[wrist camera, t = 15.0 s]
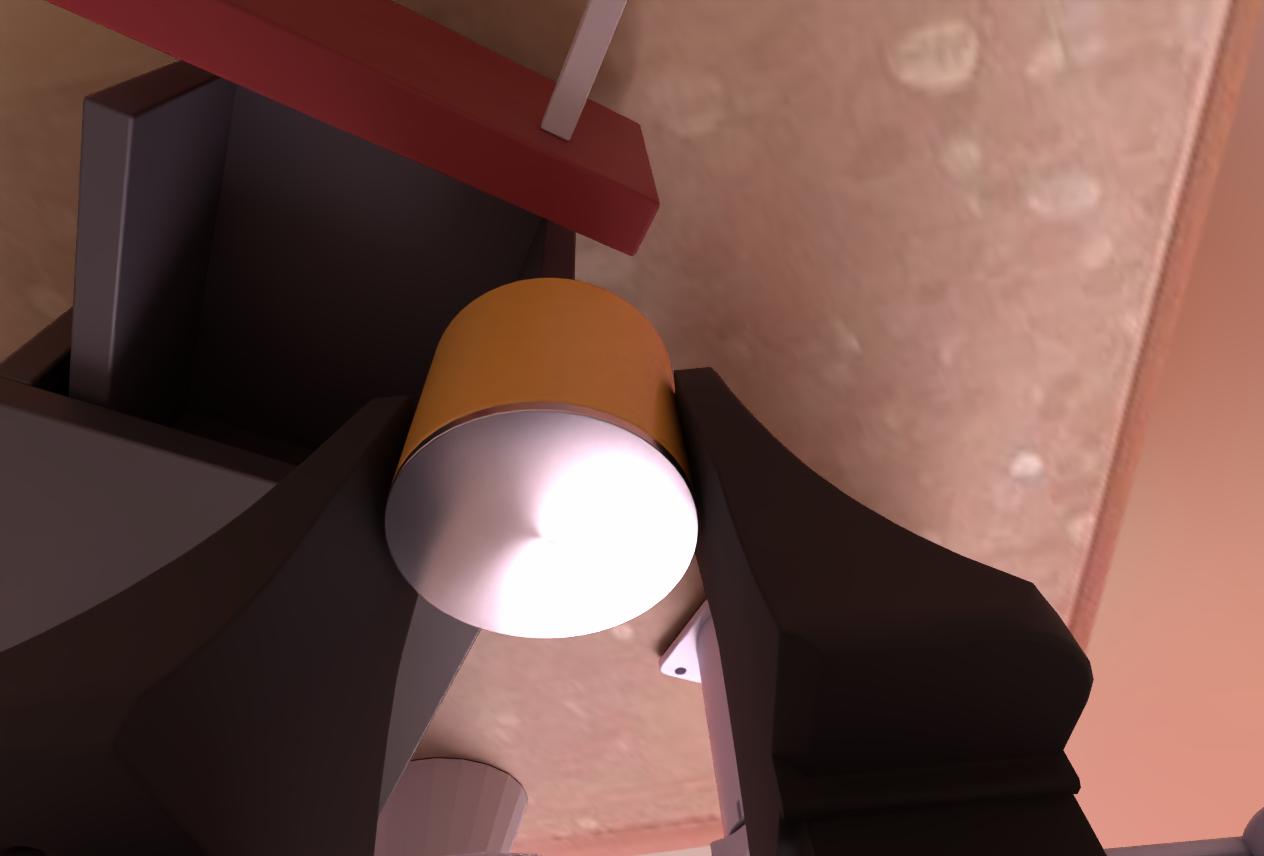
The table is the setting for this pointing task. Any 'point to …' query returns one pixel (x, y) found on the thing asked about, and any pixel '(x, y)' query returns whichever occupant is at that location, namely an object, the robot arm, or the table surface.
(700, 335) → the table surface
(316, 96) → the drawer
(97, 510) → the coffee machine
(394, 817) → the lava lamp
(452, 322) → the coffee capsule
